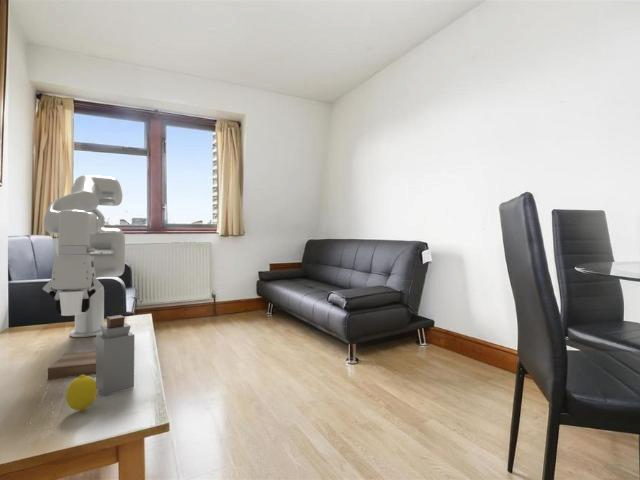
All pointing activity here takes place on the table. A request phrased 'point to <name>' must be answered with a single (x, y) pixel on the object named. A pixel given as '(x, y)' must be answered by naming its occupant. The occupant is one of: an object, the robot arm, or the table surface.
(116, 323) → the perfume bottle
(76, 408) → the lemon
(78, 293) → the white cup
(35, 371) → the table surface
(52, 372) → the walnut plinth
